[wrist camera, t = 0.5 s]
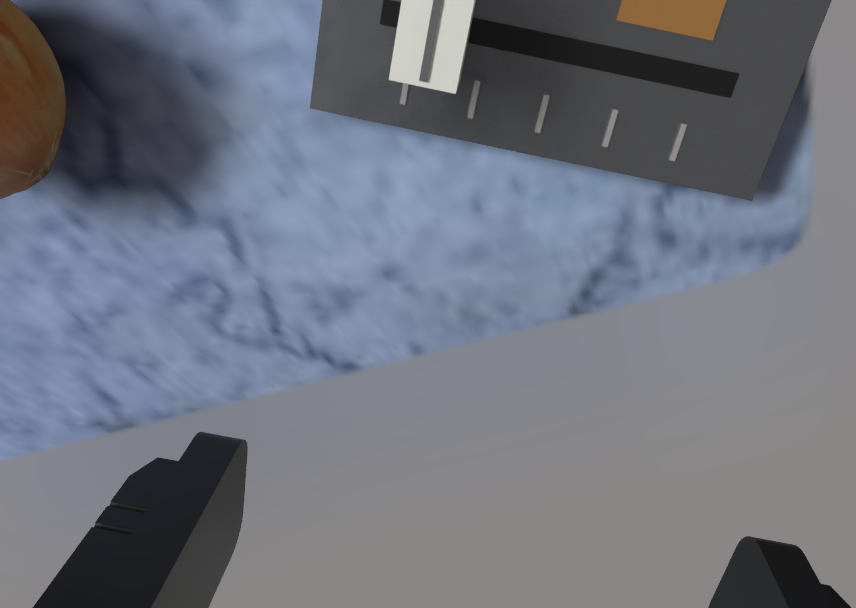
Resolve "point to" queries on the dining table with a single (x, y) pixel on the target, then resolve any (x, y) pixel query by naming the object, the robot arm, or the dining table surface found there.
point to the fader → (431, 43)
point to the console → (592, 81)
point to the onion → (27, 102)
